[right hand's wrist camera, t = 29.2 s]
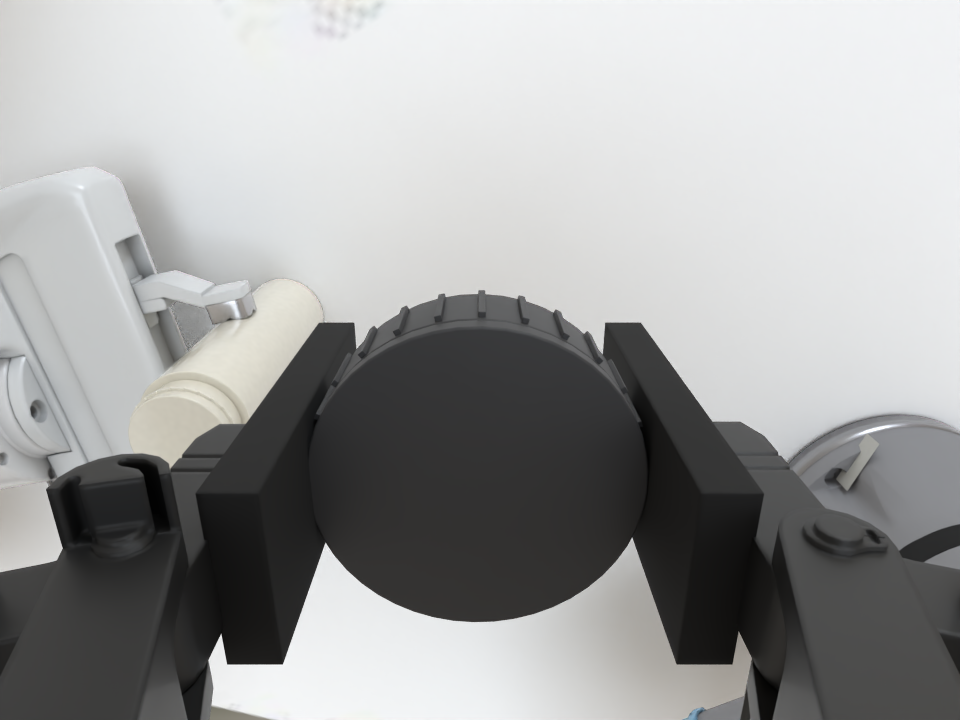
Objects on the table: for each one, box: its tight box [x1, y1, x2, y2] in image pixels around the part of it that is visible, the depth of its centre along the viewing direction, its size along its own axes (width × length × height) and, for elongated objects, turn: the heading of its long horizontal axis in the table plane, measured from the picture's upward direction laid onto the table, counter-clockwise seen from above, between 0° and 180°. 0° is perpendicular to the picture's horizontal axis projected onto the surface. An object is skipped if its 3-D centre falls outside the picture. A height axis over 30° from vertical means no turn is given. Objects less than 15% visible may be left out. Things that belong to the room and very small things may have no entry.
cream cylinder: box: [128, 279, 323, 468], centre depth 32 cm, size 4×4×15 cm
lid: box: [308, 290, 649, 622], centre depth 11 cm, size 6×6×2 cm
